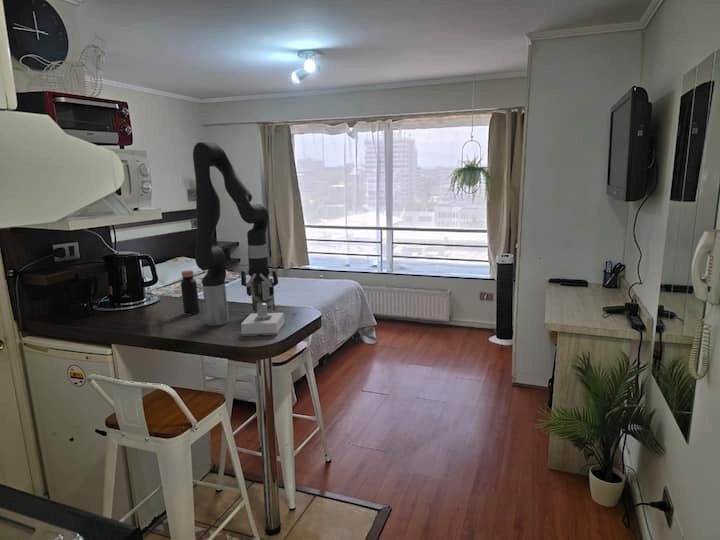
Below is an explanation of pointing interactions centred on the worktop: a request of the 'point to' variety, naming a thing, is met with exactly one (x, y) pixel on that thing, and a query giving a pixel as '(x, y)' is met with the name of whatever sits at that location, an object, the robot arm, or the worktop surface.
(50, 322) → the worktop surface
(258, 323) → the socket block
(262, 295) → the coffee box
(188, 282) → the bottle
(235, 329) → the worktop surface
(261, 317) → the peg
